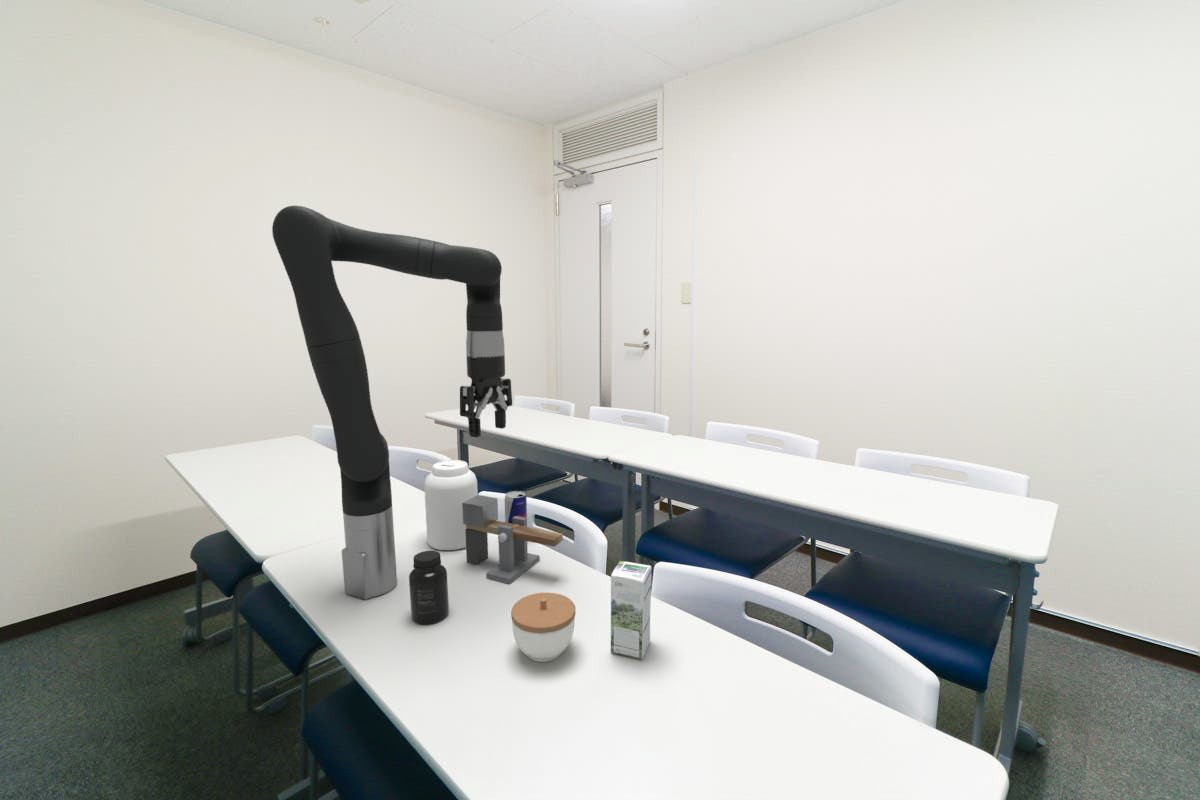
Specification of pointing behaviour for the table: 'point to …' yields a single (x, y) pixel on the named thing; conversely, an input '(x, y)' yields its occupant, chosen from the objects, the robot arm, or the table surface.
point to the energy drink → (515, 505)
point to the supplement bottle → (428, 588)
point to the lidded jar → (543, 625)
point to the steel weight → (480, 511)
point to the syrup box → (630, 609)
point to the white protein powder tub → (448, 503)
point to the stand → (501, 552)
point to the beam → (524, 533)
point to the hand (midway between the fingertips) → (488, 432)
